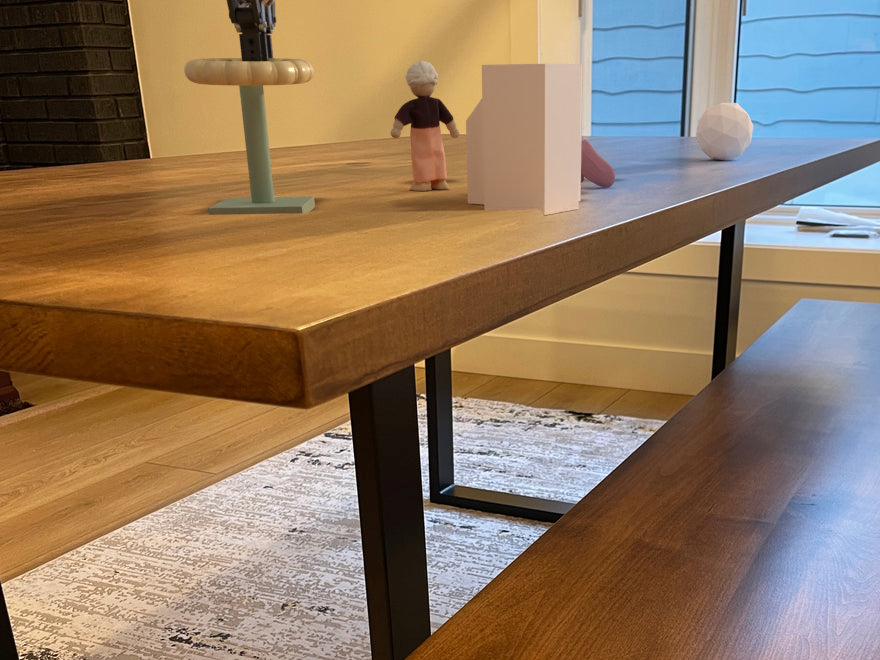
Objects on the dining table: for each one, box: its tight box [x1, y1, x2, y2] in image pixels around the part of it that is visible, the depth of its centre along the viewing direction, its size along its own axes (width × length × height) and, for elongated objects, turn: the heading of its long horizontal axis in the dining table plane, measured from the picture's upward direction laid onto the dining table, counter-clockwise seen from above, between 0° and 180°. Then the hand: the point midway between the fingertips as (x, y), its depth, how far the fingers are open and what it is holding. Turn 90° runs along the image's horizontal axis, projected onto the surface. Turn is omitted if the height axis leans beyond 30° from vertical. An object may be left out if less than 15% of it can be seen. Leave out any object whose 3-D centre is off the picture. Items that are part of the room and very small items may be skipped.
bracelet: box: [183, 57, 315, 87], centre depth 85 cm, size 11×11×2 cm
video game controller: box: [581, 136, 616, 188], centre depth 109 cm, size 10×5×7 cm, turn 27°
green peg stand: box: [207, 85, 316, 216], centre depth 88 cm, size 8×8×11 cm
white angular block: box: [465, 63, 584, 216], centre depth 91 cm, size 11×11×12 cm
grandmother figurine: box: [390, 60, 460, 192], centre depth 105 cm, size 8×4×13 cm, turn 130°
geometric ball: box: [695, 102, 755, 161], centre depth 140 cm, size 8×8×8 cm
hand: (259, 79), depth 89 cm, fingers closed on bracelet, 2 cm apart
